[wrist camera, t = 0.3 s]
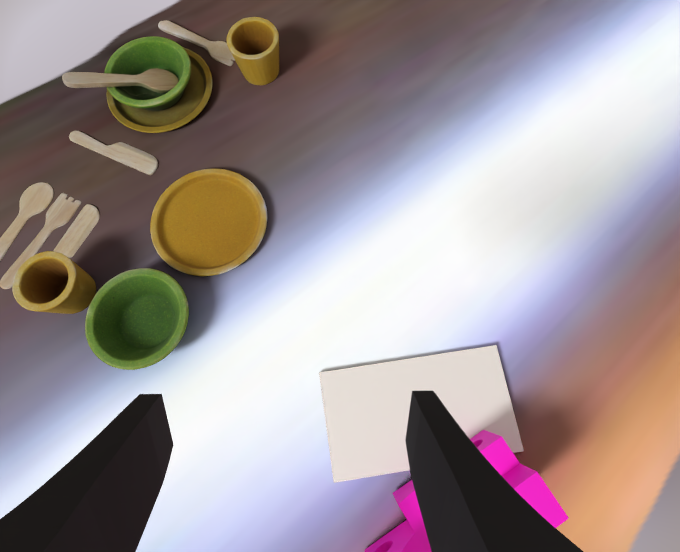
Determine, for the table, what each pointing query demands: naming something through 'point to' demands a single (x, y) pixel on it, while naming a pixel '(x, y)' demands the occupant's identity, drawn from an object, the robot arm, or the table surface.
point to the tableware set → (170, 210)
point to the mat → (394, 404)
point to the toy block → (410, 536)
